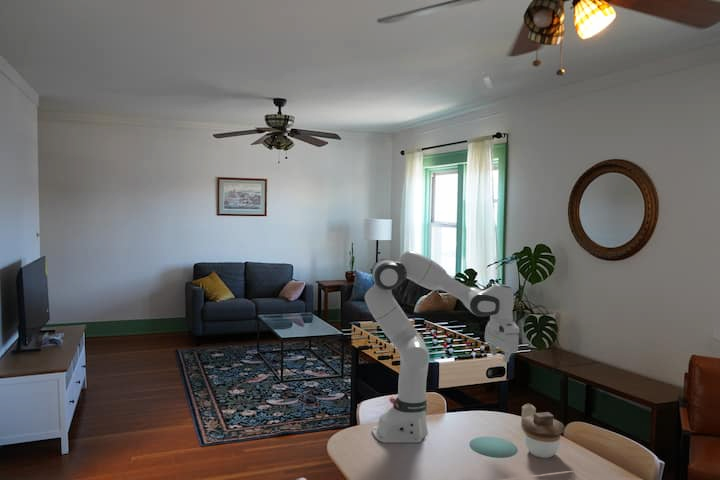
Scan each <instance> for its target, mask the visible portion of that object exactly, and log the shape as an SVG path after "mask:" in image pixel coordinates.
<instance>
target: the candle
mask: <svg viewBox="0 0 720 480" xmlns="http://www.w3.org/2000/svg"><path fill="white" fill-rule="evenodd" d="M536 411H537V408H536V407H535V406H534V405H533V404H531V403H525V404H524V405H522V406H521V422H520V426H521V428H523V429H525V427H524V426H523V425H522V419H523V418H524V417H527V416H534V413H537V412H536Z"/></svg>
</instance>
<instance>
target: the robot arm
mask: <svg viewBox="0 0 720 480" xmlns="http://www.w3.org/2000/svg"><path fill="white" fill-rule="evenodd" d="M371 277H372V279H371V280H372V285H373V286H371V287H370V288H369V289H368V290H367V291H366V292H365V295H364V301H365V303H366V306H367V307H368V310H369V312H370V314H371V315H372V316H373V319H374V320H375V321H376V323H377V325H378V326H379V327H380V329H381V330H382V332H383V333H384V336H386V337H387V338H388V339H389V341H390V342H391V344H392V345H393V346H394V347H395V349H396V350H397V352H398V354H399V357H400V358H399V360H400V362H399V365H400V366H399V374H398V386H397V389H398V391H397V397H396V398H394V397H393V396H391V397H390V398H389V402H390V403H392V406H391V408H389V409H388V410H386V411H385V412H384V413H383V414H381V415H380V416H379V419H378V424H377V425H375V426H373V427H372V429H371V430H372V431H371V432H372V433H371V434H372V435H373V436H374V438H375V439H377V440H378V441H380V442H381V443H384V444H385V443H386V444H388V443H389V444H390V443H391V444H392V443H395V444H397V443H398V444H401V443H402V444H403V443H407V444H408V443H421V442H423V439H425V438H426V437H427V436H428V435H429V431H428V426H427V415H426V413H427V407H428V405H427V398H426V397H427V396H426V395H427V394H426V393H427V377H428V371H429V363H430V361H429V360H430V352H429V349H428V347H427V344H426V342H425V341H424V339H423V337H422V336H421V335H420V333H419V332H418V330H417V329H416V328H415V326H414V325H413V323H412V321H411V320H410V319H409V318H408V316H407V315H406V313H405V312H404V310H403V308H402V307H401V306H400V304H399V303H398V301H397V300H396V299H395V297H394V295H393V293H392V291H393V290H394V289H396V288H397V287H400V285H401V284H402V283H403V282H404V281H405V280H406V279H407V280H409V281H412V282H414V283H415V284H417V285H418V286H421V287H423V288H424V289H425V288H426V289H427V290H431V291H443V292H445V293H447V294H449V295H451V296H452V297H454V298H456V299H458V300H459V301H460V302H461V303H462V305H463V306H464V307H465V308H466V309H467V310H468V311H469V312H470V313H472V314H473V315H475V317H481V318H483V317H489V320H488V321H487V324H486V326H485V331H484V341H485V342H487V343H488V344H489V348H490V355H491V356H497V354H498V352H497V348H498V349H500V350H502V351H504V356H503V357H502V361H503V362H504V363H509V362H510V357H511V355H512V354H516V353H517V352H518V350H519V334H520V328H519V326H518V325H517V324H516V323H515V321H514V316H513V310H514V306H515V305H514V302H515V300H514V299H515V298H514V296H515V295H514V291H513V288H512V287H511V286H509V285H506V284H503V283H494V284H493V285H491V286H490V287H488V288H486V289H484V290H483V289H482V288H480V287H476V286H468V285H466V284H464V283H461V282H460V281H458V280H457V279H455V278H453V277H451V276H450V275H449V274H448V273H447V271H446V269H445V268H443V266H441V265H440V264H439V263H437V262H436V261H434V260H433V259H431V258H430V257H427V256H425V255H423V254H421V253H418V252H415V251H412V250H407V251H405V252H404V253H402V254H401V255H400V257H399V258H398V260H397V261H393V260H391V259H388V258H383V259H379V260H377V261H376V262H375V263H374V264H373V266H372V270H371Z"/></svg>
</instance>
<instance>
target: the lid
mask: <svg viewBox="0 0 720 480" xmlns="http://www.w3.org/2000/svg"><path fill="white" fill-rule="evenodd" d="M522 425H523V426H524V427H525V428H526V429H528V430H530V431H532V432H535V433H539V434H545V435H557V434H562V433H564V432H565V425H564V423H563V422H561V421H559V420H557V419H556V418H554V415H553V414H552V413H551V412H549V411H546V412H536V413H534V416H527V417H524V418H523V419H522ZM525 428H524V429H525Z"/></svg>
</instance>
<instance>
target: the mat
mask: <svg viewBox="0 0 720 480" xmlns="http://www.w3.org/2000/svg"><path fill="white" fill-rule="evenodd" d="M469 448H470V449H471V450H472V451H473V452H476V453H478V454H479V455H482V456H486V457H489V458H496V459H497V458H498V459H503V458H504V459H505V458H511V457H513V456H516V454H517V453H518V451H519V449H518V447H517V446H516V444H514V443H513V442H512V441H510V440H507V439H504V438H500V437H495V436H479V437H475V438H473V439H471V440H470V441H469Z"/></svg>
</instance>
